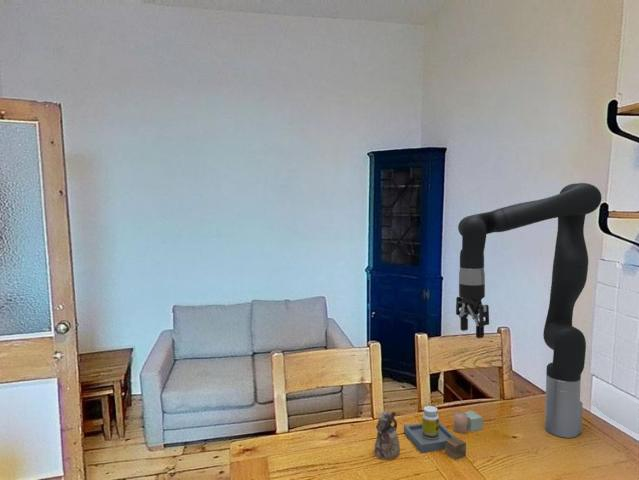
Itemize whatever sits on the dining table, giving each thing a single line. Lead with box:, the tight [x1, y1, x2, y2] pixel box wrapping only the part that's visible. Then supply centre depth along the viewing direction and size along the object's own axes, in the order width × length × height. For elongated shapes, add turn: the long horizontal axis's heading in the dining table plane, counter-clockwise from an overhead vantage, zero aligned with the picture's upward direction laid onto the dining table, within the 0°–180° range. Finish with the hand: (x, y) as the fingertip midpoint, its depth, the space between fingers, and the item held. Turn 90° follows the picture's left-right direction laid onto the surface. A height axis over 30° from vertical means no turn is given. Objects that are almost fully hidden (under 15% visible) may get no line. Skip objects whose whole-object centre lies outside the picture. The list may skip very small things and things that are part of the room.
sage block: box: [463, 410, 483, 432], centre depth 146 cm, size 4×5×4 cm
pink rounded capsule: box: [453, 411, 468, 435], centre depth 144 cm, size 4×4×5 cm
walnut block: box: [444, 435, 467, 461], centre depth 131 cm, size 4×4×4 cm
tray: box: [403, 421, 455, 454], centre depth 139 cm, size 12×12×2 cm
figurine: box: [373, 410, 401, 461], centre depth 132 cm, size 7×7×12 cm
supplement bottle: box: [422, 405, 440, 440], centre depth 138 cm, size 5×5×8 cm
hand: (471, 333), depth 144 cm, fingers open, 8 cm apart
